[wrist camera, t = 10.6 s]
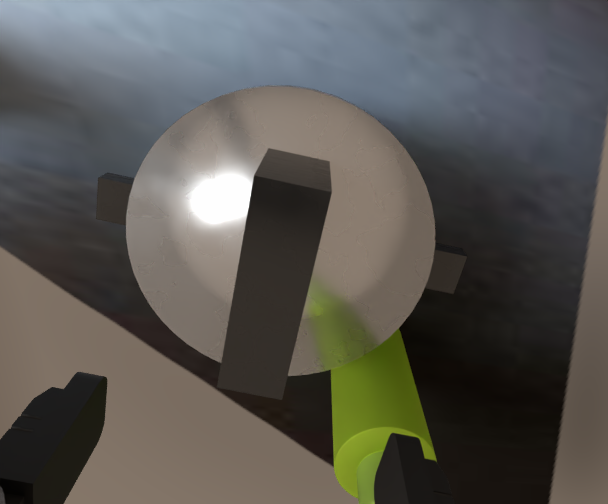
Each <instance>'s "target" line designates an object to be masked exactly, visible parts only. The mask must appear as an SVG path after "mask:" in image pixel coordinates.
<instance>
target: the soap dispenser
mask: <svg viewBox="0 0 608 504" xmlns="http://www.w3.org/2000/svg"><path fill="white" fill-rule="evenodd" d="M331 386H332V417H333V447H334V471H335V475H336V478H337V480H338V482H339V483H340V485H341V486H342V487H343V488H344V489H345V490H346V491H347V492H348V493H349V494H351V495H352V496H354V497H356V498H358V500H359V504H375V500H374V480H375V475H376V471H377V468H378V466H379V463H380V460H381V457H382V455H383V452H384V449H385V446H386V444H387V441H388V438H389V436H390V434H391V433H397V434H402V435H408V436H413V437H418V438H419V439H420V442H421V445H422V449H423V453H424V457H425V459H430V460H435V461H436V456H435V453H434V449H433V446H432V442H431V439H430V435H429V432H428V428H427V424H426V421H425V417H424V414H423V410H422V407H421V403H420V400H419V396H418V393H417V389H416V385H415V382H414V378H413V375H412V371H411V368H410V364H409V361H408V357H407V354H406V350H405V346H404V343H403V339H402V336H401V332H400V330H399V328H398V329H397V330H396V331H395V332H394V333H393V334H392V335H391V336H390V337H389V338H388V339H387V340H386V341H384V342H383V343H382V344H380V345H379V346H378V347H376V348H375V349H374V350H372V351H370V352H369V353H367V354H365V355H364V356H362V357H360V358H358V359H356V360H354V361H352V362H349V363H347V364H345V365H343V366H340V367H337V368H333V369H331Z"/></svg>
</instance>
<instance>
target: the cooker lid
mask: <svg viewBox="0 0 608 504" xmlns="http://www.w3.org/2000/svg"><path fill="white" fill-rule="evenodd" d="M126 239H127V246H128V254H129V258H130V261H131V265H132V268H133V272H134V274H135V277H136V279H137V282H138V284H139V286H140V289H141V290H142V292H143V294H144V296H145V297H146V299H147V301H148V303H149V304H150V306H151V307H152V308H153V310H154V311H155V312H156V314H157V315H158V316H159V318H160V319H161V320H162V321H163V322H164V323H165V324H166V325H167V326H168V327H169V328H170V329H171V330H172V331H173V333H175V334H176V335H177V336H178V337H180V338H181V339H182V340H183V341H184V342H186V343H187V344H188V345H190V346H191V347H193V348H194V349H196V350H197V351H199V352H201V353H202V354H204V355H206V356H208V357H210V358H212V359H214V360H216V361H218V362H220V363H221V367H220V373H219V378H218V384H217V388H222V389H228V390H233V391H238V392H243V393H248V394H254V395H259V396H264V397H269V398H275V399H280V400H282V397H283V393H284V389H285V385H286V381H287V376H294V375H307V374H312V373H318V372H323V371H327V370H330V369H333V368H337V367H340V366H343V365H345V364H347V363H349V362H352V361H354V360H356V359H358V358H360V357H362V356H364V355H365V354H367V353H369V352H370V351H372V350H374V349H375V348H376V347H378V346H379V345H380V344H382V343H383V342H384V341H386V340H387V339H388V338H389V337H390V336H391V335H392V334H393V333H394V332H395V331H396V330H397V329H398V328H399V327H400V326H401V325H402V324H403V323H404V321H405V320H406V319H407V317H408V316H409V315H410V314H411V312H412V311H413V309H414V307H415V306H416V304H417V302H418V301H419V299H420V297H421V295H422V293H423V291H424V288H425V286H426V283H427V281H428V278H429V275H430V271H431V267H432V263H433V258H434V250H435V221H434V214H433V208H432V203H431V200H430V197H429V194H428V190H427V187H426V184H425V182H424V180H423V178H422V176H421V174H420V172H419V170H418V168H417V166H416V164H415V163H414V161H413V160H412V158H411V157H410V155H409V154H408V152H407V151H406V149H405V148H404V147H403V146H402V144H401V143H400V142H399V141H398V140H397V139H396V138H395V137H394V136H393V134H392V133H391V132H390V131H389V130H388V129H387V128H386V127H385V126H383V125H382V124H381V123H380V122H379V121H378V120H376V119H375V118H374V117H373V116H372V115H370V114H368V113H367V112H365V111H364V110H362V109H360V108H359V107H357V106H356V105H354V104H352V103H350V102H348V101H346V100H343V99H341V98H339V97H337V96H335V95H332V94H328V93H325V92H322V91H318V90H315V89H310V88H304V87H297V86H290V85H267V86H258V87H250V88H245V89H241V90H238V91H234V92H230V93H227V94H224V95H222V96H220V97H217V98H215V99H213V100H210V101H208V102H206V103H204V104H202V105H200V106H198V107H197V108H195V109H194V110H192V111H190V112H189V113H187V114H185V115H184V116H183V117H181V118H180V119H179V120H178V121H177V122H175V123H174V124H173V125H172V126H171V127H169V128H168V129H167V130H166V131H165V133H164V134H163V135H162V136H161V137H160V138H159V139H158V140H157V141H156V143H155V144H154V145H153V147H152V148H151V150H150V151H149V153H148V154H147V156H146V157H145V159H144V160H143V162H142V164H141V166H140V168H139V170H138V173H137V175H136V177H135V179H134V182H133V186H132V189H131V192H130V196H129V201H128V207H127V214H126Z"/></svg>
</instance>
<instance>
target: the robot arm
mask: <svg viewBox="0 0 608 504" xmlns="http://www.w3.org/2000/svg"><path fill="white" fill-rule="evenodd" d="M106 393H107V378H106V377H104V376H98V375H93V374H88V373H82V372H77V373H76V374H75V375H74V377H73V378H72V379H71V380H70V382H69V383H68V385H67V386H66V387H65V388H64V389H59V388H54V387H52V388H50V389H48V390H47V391H45V392H44V393H42V394H41V395H39V396H37V397H35V398H34V399H33V400H32V401H31V403H30V404H29V405H28V406H27V407H26V409H25V410H24V411H23V412H22V414H21V416H20V417H18V419H17V420H16V421H15V422H14V423H13V425H12V427H11V429H9V430H8V431H7V432H6V433H5V435H4V436H3V437H2V438H1V439H0V504H64V502H65V500H66V498H67V497H68V495H69V493H70V491H71V489H72V488H73V486H74V484H75V482H76V480H77V479H78V477H79V475H80V473H81V472H82V470H83V468H84V466H85V464H86V463H87V461H88V459H89V457H90V456H91V454H92V452H93V450H94V448H95V447H96V445H97V443H98V441H99V438H100V436H101V433H102V430H103V426H104V421H105V407H106ZM374 500H375V504H455V503H454V500H453V498H452V493H451V490H450V486H449V483H448V479H447V477H446V475H445V474H444V472H443V471H442V469H441V468H440V467H439V465H438V464H437V462H436V461H435V460H430V459H425V457H424V453H423V449H422V445H421V442H420V439H419V438H418V437H413V436H408V435H402V434H397V433H391V434H390V436H389V438H388V441H387V444H386V446H385V449H384V452H383V455H382V457H381V460H380V463H379V466H378V468H377V471H376V475H375V480H374Z"/></svg>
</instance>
